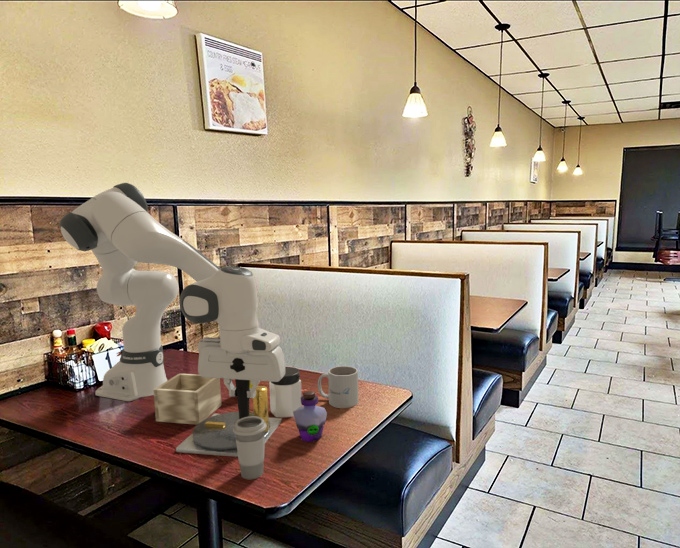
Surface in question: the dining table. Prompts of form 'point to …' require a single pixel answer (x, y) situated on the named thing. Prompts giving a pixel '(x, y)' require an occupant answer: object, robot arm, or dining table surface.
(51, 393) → the dining table surface
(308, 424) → the potion bottle
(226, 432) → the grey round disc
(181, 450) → the base
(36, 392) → the dining table surface
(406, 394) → the dining table surface
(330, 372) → the mug
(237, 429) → the cup
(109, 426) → the dining table surface
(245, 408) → the microphone
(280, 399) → the jar
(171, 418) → the open wooden box
